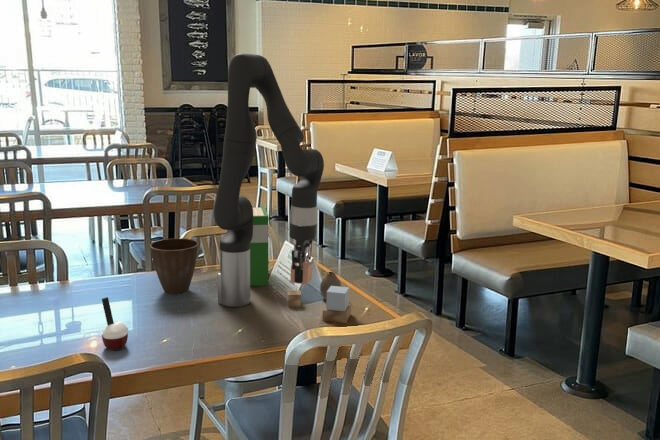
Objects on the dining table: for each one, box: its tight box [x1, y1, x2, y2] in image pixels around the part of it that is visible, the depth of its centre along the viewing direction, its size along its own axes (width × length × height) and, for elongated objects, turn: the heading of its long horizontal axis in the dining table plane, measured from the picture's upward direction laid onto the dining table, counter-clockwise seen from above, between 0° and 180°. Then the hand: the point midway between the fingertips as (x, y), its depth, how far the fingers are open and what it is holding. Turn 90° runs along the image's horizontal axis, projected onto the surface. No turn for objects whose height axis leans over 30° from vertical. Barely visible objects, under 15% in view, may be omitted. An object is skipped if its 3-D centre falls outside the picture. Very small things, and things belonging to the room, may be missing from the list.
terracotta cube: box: [289, 261, 314, 285], centre depth 177 cm, size 5×5×5 cm
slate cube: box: [325, 286, 350, 312], centre depth 183 cm, size 6×6×6 cm
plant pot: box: [149, 238, 199, 296], centre depth 201 cm, size 15×15×16 cm
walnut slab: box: [322, 303, 352, 324], centre depth 184 cm, size 7×7×4 cm
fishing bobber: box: [101, 297, 129, 351], centre depth 160 cm, size 10×6×12 cm, turn 22°
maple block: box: [286, 289, 302, 308], centre depth 193 cm, size 4×4×4 cm
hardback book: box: [250, 204, 269, 287], centre depth 216 cm, size 18×7×24 cm, turn 11°
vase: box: [319, 271, 343, 301], centre depth 198 cm, size 7×7×9 cm
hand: (301, 279), depth 177 cm, fingers closed on terracotta cube, 5 cm apart
